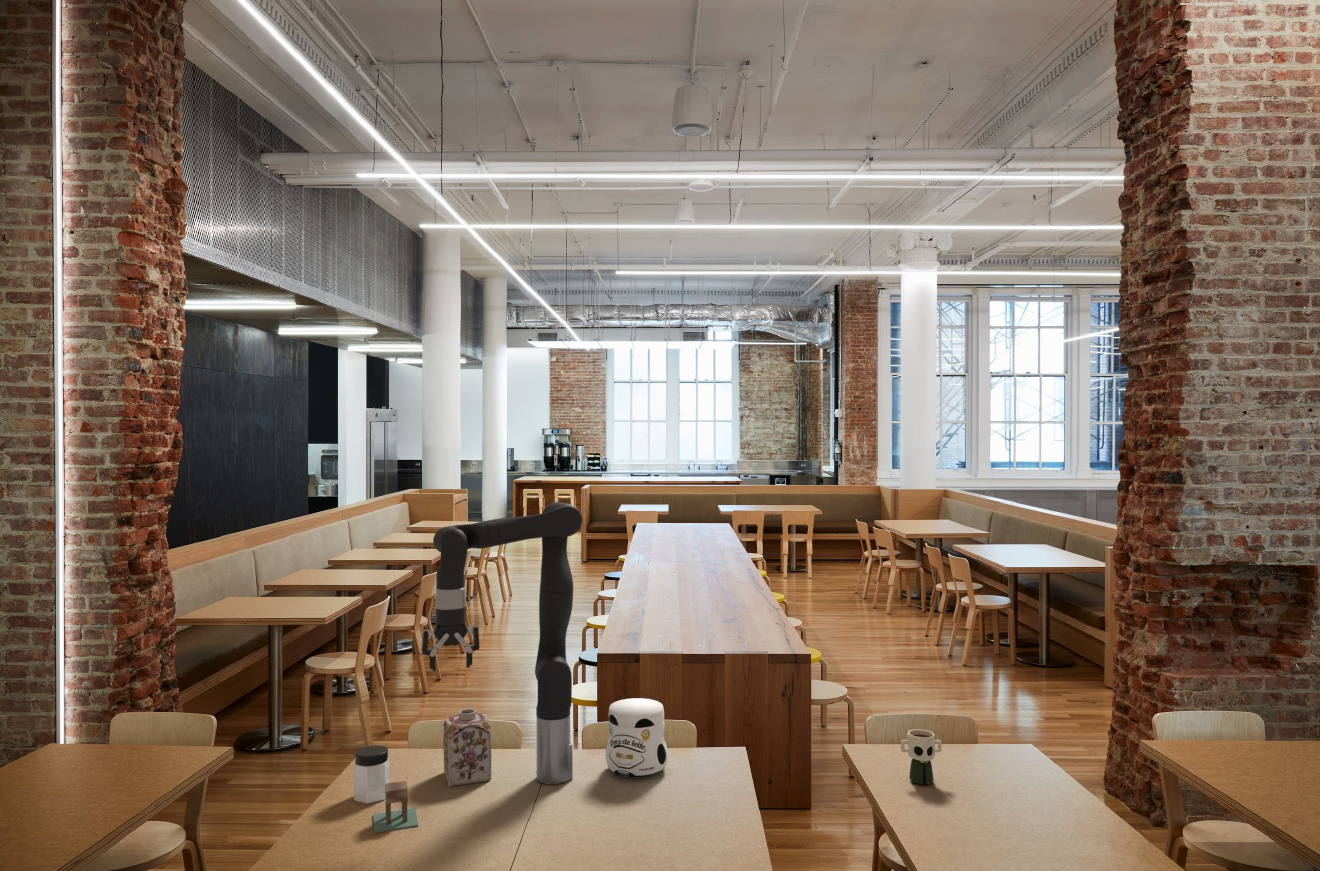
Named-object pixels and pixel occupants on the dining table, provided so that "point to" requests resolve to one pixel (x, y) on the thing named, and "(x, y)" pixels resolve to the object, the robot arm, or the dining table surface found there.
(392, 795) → the pronged tan cube
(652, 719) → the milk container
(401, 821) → the mat
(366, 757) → the jar
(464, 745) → the decorative jar
